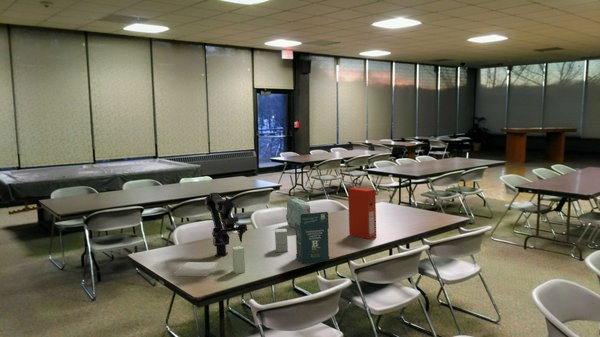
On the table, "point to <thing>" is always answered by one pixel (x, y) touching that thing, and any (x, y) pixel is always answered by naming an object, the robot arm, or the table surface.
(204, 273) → the grey board
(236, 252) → the sage block
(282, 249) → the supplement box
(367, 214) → the file binder
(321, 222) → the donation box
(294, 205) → the lunch box
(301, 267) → the table surface
